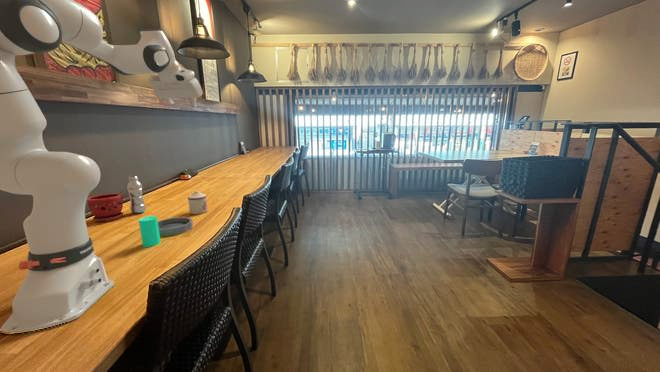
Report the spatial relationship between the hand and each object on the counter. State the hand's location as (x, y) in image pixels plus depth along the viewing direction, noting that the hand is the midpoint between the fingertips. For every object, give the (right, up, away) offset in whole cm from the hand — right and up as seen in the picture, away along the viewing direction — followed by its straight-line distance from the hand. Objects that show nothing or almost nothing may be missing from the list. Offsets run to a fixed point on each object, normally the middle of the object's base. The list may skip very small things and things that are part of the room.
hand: (185, 107), depth 114 cm
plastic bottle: (-39, -50, +25) cm, 68 cm away
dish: (-7, -54, +3) cm, 55 cm away
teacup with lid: (-8, -49, +28) cm, 57 cm away
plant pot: (-47, -52, +16) cm, 72 cm away
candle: (-7, -58, -12) cm, 59 cm away
